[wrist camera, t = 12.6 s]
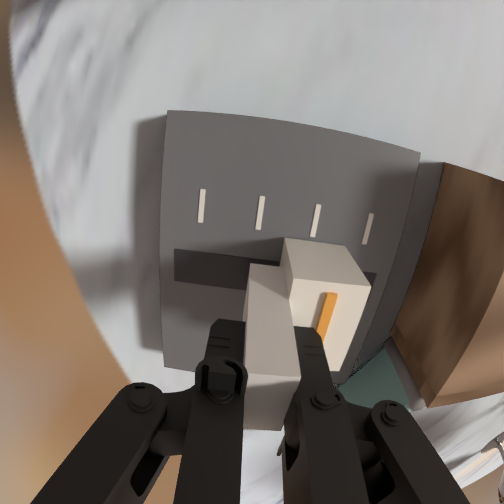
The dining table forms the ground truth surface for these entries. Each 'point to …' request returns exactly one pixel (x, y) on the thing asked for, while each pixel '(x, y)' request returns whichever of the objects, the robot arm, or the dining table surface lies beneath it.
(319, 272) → the fader knob
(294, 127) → the mixer strip
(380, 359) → the rack door
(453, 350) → the box
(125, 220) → the dining table surface
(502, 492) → the wine glass
